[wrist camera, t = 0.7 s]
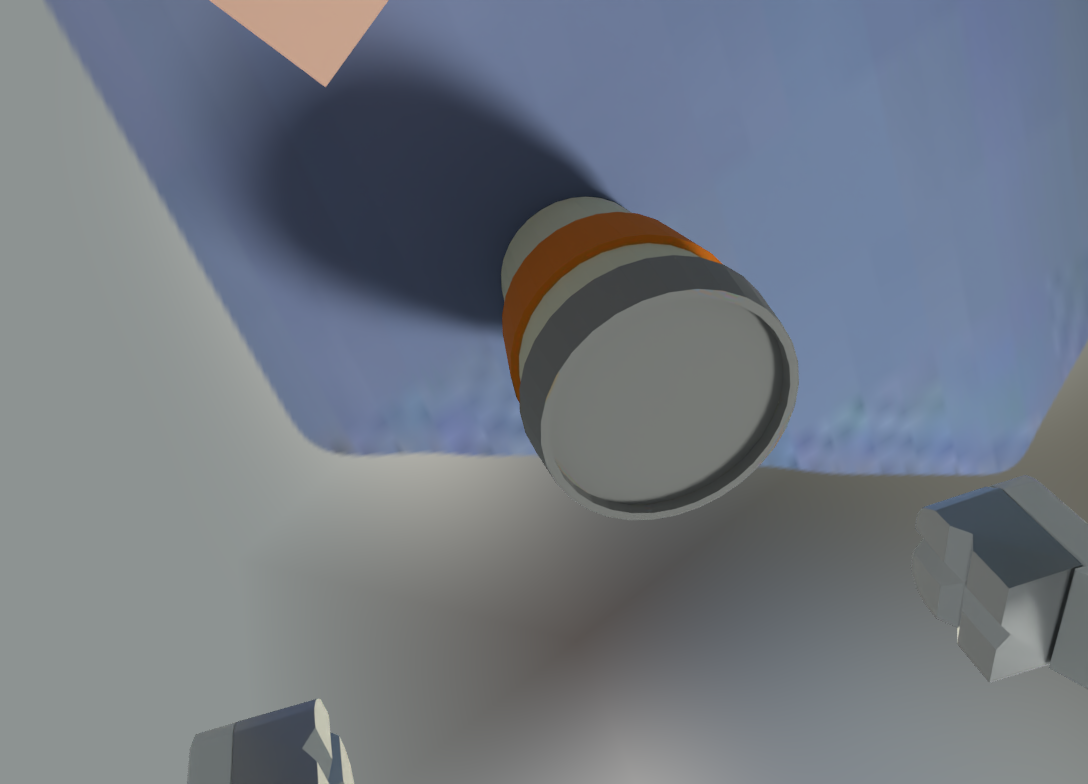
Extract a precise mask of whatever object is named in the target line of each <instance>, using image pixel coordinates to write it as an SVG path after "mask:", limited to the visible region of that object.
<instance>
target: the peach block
mask: <svg viewBox="0 0 1088 784" xmlns="http://www.w3.org/2000/svg"><path fill="white" fill-rule="evenodd" d="M210 1H211V2H212V3H214V4H215V5H216V6H218V7H219V8H220V9H222V10H223V11H224V12H226V13H227V14H228V15H230V16H231V17H232V18H234V19H235V20H236V21H238V22H239V23H240V24H242V25H243V26H244V27H246V28H247V29H248V30H250V31H251V32H252V33H254V34H255V35H256V36H258V37H259V38H260V39H262V40H263V41H264V42H266V43H267V44H268V45H270V46H271V47H272V48H274V49H275V50H276V51H278V52H279V53H280V54H282V55H283V56H284V57H286V58H287V59H288V60H290V61H291V62H292V63H294V64H295V65H296V66H298V67H299V68H300V69H302V70H303V71H304V72H306V73H307V74H308V75H310V76H311V77H312V78H314V79H315V80H316V81H318V82H319V83H320V84H322V85H323V86H324V87H326V86H327V85H328V83H329V82H330V81H331V79H332V78H333V76H334V75H335V74H336V72H337V71H338V69H339V68H340V67H341V65H342V64H343V62H344V61H345V60H346V58H347V57H348V56H349V54H350V53H351V51H352V50H353V49H354V47H355V46H356V44H357V43H358V42H359V40H360V39H361V38H362V36H363V35H364V33H365V32H366V31H367V29H368V28H369V26H370V25H371V24H372V22H373V21H374V20H375V18H376V17H377V15H378V14H379V13H380V11H381V10H382V8H383V7H384V6H385V4H386V3H387V2H388V0H210Z"/></svg>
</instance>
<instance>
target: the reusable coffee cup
mask: <svg viewBox="0 0 1088 784" xmlns="http://www.w3.org/2000/svg"><path fill="white" fill-rule="evenodd" d="M501 287H502V292H503V297H504V307H503V313H502V325H503V337H504V342H505V348H506V353H507V358H508V364H509V369H510V374H511V379H512V383H513V386H514V390H515V394H516V397H517V399H518V401H519V403H520V414H521V418H522V421H523V425H524V429H525V433H526V434H527V436H528V438H529V440H530V442H531V444H532V445H533V447H534V449H535V451H536V452H537V454H538V455H539V457H540V458H541V460H542V462H543V463H544V465H545V466H546V468H547V469H548V471H549V473H550V474H551V476H552V477H553V479H554V481H555V482H556V484H557V485H558V486H559V487H560V488H561V489H562V490H563V491H564V492H565V493H566V494H567V495H568V496H569V497H570V498H571V499H572V500H574V501H576V502H577V503H579V504H580V505H582V506H583V507H585V508H586V509H588V510H591V511H594V512H596V513H599V514H602V515H604V516H607V517H613V518H619V519H626V520H653V519H658V518H664V517H670V516H675V515H678V514H681V513H684V512H687V511H690V510H693V509H696V508H699V507H700V506H703V505H705V504H707V503H709V502H711V501H713V500H715V499H717V498H719V497H721V496H722V495H724V494H725V493H727V492H728V491H729V490H731V489H733V488H734V487H735V486H737V485H738V484H740V483H741V482H742V481H743V480H745V479H746V478H747V477H748V476H749V475H750V474H751V473H752V472H753V471H754V470H755V469H757V468H758V467H759V466H760V465H761V463H762V462H763V461H764V460H765V458H766V457H767V456H768V455H769V454H770V452H771V451H772V450H773V449H774V447H775V446H776V444H777V442H778V441H779V439H780V437H781V436H782V434H783V432H784V431H785V429H786V427H787V425H788V422H789V420H790V417H791V414H792V412H793V409H794V406H795V402H796V396H797V391H798V385H799V376H798V360H797V357H796V353H795V350H794V346H793V343H792V341H791V339H790V337H789V335H788V334H787V332H786V330H785V329H784V327H783V325H782V324H781V322H780V321H779V319H778V318H777V317H776V315H775V314H774V312H773V311H772V310H771V308H770V307H769V306H768V304H767V303H766V301H765V300H764V299H763V297H762V296H761V294H760V293H759V292H758V291H757V290H756V289H755V288H754V287H753V286H752V285H751V284H750V283H749V282H748V281H747V280H746V279H745V278H744V277H743V276H742V275H740V274H739V273H737V272H735V271H733V270H732V269H730V268H728V267H727V266H725V265H723V264H722V263H721V262H720V261H719V260H718V259H717V258H716V257H715V256H714V255H713V254H711V253H710V252H708V251H706V250H705V249H703V248H702V247H700V246H698V245H697V244H695V243H694V242H692V241H690V240H689V239H687V238H686V237H684V236H682V235H681V234H679V233H678V232H676V231H674V230H673V229H671V228H669V227H668V226H666V225H664V224H663V223H661V222H659V221H658V220H656V219H653V218H650V217H646V216H643V215H640V214H636V213H631V212H630V211H628V210H627V209H625V208H623V207H621V206H620V205H618V204H616V203H615V202H612V201H608V200H605V199H602V198H596V197H576V198H569V199H566V200H562V201H559V202H555V203H553V204H551V205H549V206H547V207H546V208H544V209H542V210H540V211H539V212H537V213H536V214H535V215H533V216H532V217H531V218H530V219H528V220H527V221H526V222H525V224H524V225H523V226H522V227H521V228H520V229H519V230H518V231H517V233H516V234H515V236H514V237H513V239H512V241H511V242H510V244H509V246H508V249H507V251H506V254H505V256H504V259H503V265H502V270H501Z"/></svg>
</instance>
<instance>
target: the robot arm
mask: <svg viewBox="0 0 1088 784" xmlns="http://www.w3.org/2000/svg"><path fill="white" fill-rule="evenodd" d="M915 529H916V531H917V532H918V533H919V534H920V535H921V536H922V537H923V539H922V541H921V542H920V544H919V545H918V546H917V547H916V549H915V550H914V551H913V553H912V567H911V571H912V574H913V578H914V582H915V585H916V589H917V591H918V593H919V594H920V596H921V598H922V600H923V602H924V603H925V605H926V606H927V607H928V609H929V610H930V611H931V612H932V614H933V615H934V616H935V617H936V619H938V620H941V621H943V622H945V623H948V624H950V625H952V626H955V627H957V644H958V646H959V647H960V648H961V649H962V651H963V652H964V653H965V654H966V655H967V657H968V658H969V659H970V660H971V661H972V663H973V664H974V665H975V666H976V667H977V669H978V670H979V671H980V672H981V673H982V675H983V676H984V677H985V678H986V679H987V681H988V682H989V683H991V682H994V681H998V680H1001V679H1004V678H1007V677H1010V676H1013V675H1017V674H1020V673H1023V672H1026V671H1029V670H1033V669H1036V668H1039V667H1042V666H1046V665H1049V664H1050V666H1049V668H1050V669H1052V670H1054V671H1055V672H1057V673H1059V674H1061V675H1063V676H1065V677H1066V678H1068V679H1070V680H1072V681H1074V682H1076V683H1078V684H1080V685H1081V686H1083V687H1085V688H1087V689H1088V524H1087V523H1086V522H1085V521H1084V520H1083V519H1081V518H1080V517H1079V516H1078V515H1077V514H1076V513H1075V512H1073V511H1072V510H1071V509H1070V508H1069V507H1068V506H1067V505H1065V504H1064V503H1063V502H1062V501H1061V500H1060V499H1058V498H1057V497H1056V496H1055V495H1054V494H1053V493H1052V492H1050V491H1049V490H1048V489H1047V488H1046V487H1045V486H1044V485H1042V484H1041V483H1040V482H1039V481H1038V480H1036V479H1035V478H1032V477H1030V476H1027V475H1024V476H1021V477H1017V478H1014V479H1011V480H1008V481H1005V482H1002V483H998V484H995V485H992V486H990V487H984V488H980V489H977V490H974V491H972V492H969V493H965V494H962V495H959V496H956V497H953V498H950V499H947V500H944V501H941V502H938V503H935V504H932V505H929V506H926V507H923V508H922V509H921V510H920V512H919V513H918V514H917V519H916V526H915ZM189 754H190V755H189V765H188V779H187V784H354V780H353V775H352V770H351V765H350V762H349V759H348V756H347V753H346V750H345V747H344V745H343V743H342V741H341V739H340V736H338V735H335V734H333V733H331V732H330V723H329V714H328V712H327V710H326V708H325V707H324V705H323V703H322V701H321V699H315V700H312V701H308V702H304V703H301V704H298V705H294V706H291V707H287V708H284V709H280V710H277V711H273V712H270V713H266V714H263V715H259V716H256V717H252V718H249V719H245V720H242V721H238V722H235V723H232V724H229V725H226V726H223V727H219V728H215V729H212V730H209V731H205V732H202V733H199V734H196V735H195V737H194V740H193V742H192V745H191V747H190V753H189Z"/></svg>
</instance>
